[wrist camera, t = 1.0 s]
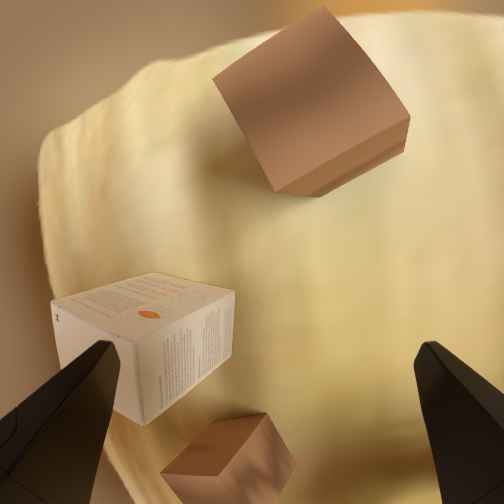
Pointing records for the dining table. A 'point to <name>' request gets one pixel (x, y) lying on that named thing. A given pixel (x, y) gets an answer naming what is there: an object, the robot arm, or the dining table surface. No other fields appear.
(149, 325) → the small box
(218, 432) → the walnut block one
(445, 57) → the dining table surface
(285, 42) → the walnut block seven
